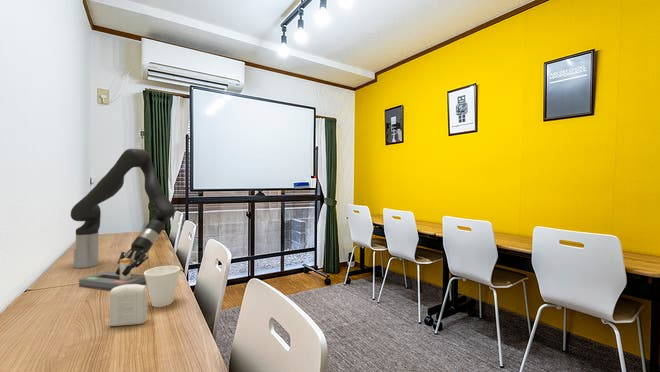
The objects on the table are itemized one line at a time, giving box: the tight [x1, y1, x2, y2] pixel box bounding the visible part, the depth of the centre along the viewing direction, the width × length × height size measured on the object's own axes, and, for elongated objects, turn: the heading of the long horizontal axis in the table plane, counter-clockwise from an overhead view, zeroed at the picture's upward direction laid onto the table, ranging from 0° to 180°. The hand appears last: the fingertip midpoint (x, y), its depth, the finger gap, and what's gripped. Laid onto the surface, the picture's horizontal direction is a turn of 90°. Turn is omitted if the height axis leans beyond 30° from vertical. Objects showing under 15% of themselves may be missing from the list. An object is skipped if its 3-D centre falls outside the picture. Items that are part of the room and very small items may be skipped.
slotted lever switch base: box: [78, 270, 147, 292], centre depth 127 cm, size 24×12×3 cm, turn 75°
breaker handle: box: [119, 258, 132, 281], centre depth 126 cm, size 3×2×10 cm
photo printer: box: [109, 284, 148, 327], centre depth 93 cm, size 10×4×12 cm, turn 103°
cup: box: [143, 265, 181, 308], centre depth 108 cm, size 12×12×12 cm
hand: (120, 274), depth 124 cm, fingers closed on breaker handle, 3 cm apart
